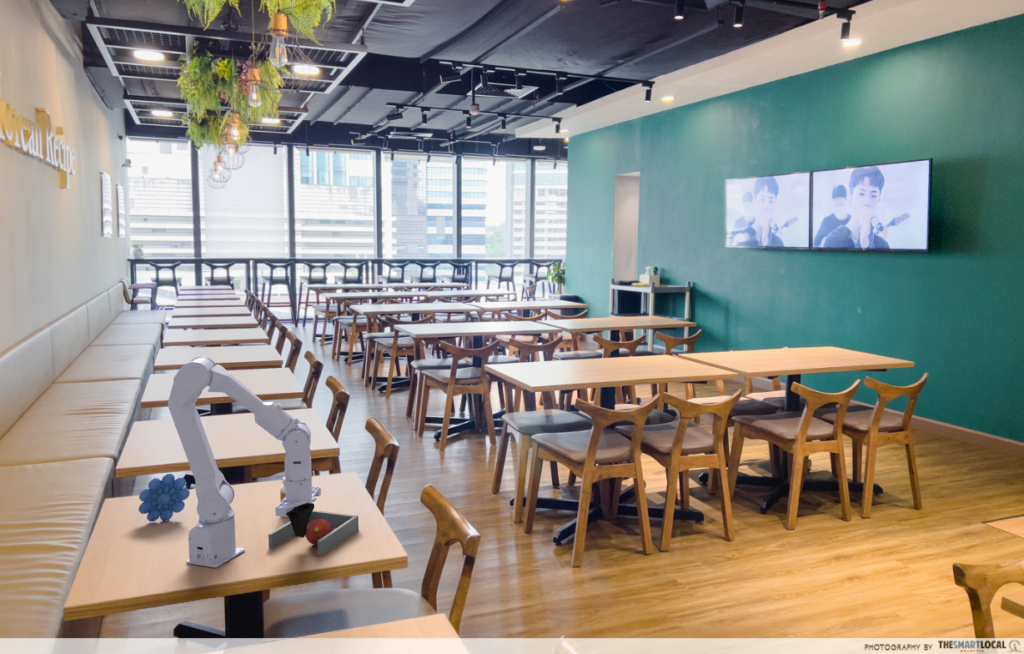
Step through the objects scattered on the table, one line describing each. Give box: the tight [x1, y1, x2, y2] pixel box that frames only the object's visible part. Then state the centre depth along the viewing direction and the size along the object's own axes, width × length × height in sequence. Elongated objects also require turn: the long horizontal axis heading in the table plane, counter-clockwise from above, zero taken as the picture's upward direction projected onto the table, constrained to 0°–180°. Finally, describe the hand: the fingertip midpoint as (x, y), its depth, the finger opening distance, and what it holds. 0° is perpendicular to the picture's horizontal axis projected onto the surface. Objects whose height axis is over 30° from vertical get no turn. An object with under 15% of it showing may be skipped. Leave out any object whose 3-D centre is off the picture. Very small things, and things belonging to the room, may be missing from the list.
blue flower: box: [138, 473, 191, 523], centre depth 177 cm, size 12×7×12 cm, turn 111°
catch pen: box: [267, 509, 360, 557], centre depth 165 cm, size 16×14×4 cm
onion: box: [305, 519, 333, 547], centre depth 162 cm, size 6×6×8 cm
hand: (300, 536), depth 160 cm, fingers closed
